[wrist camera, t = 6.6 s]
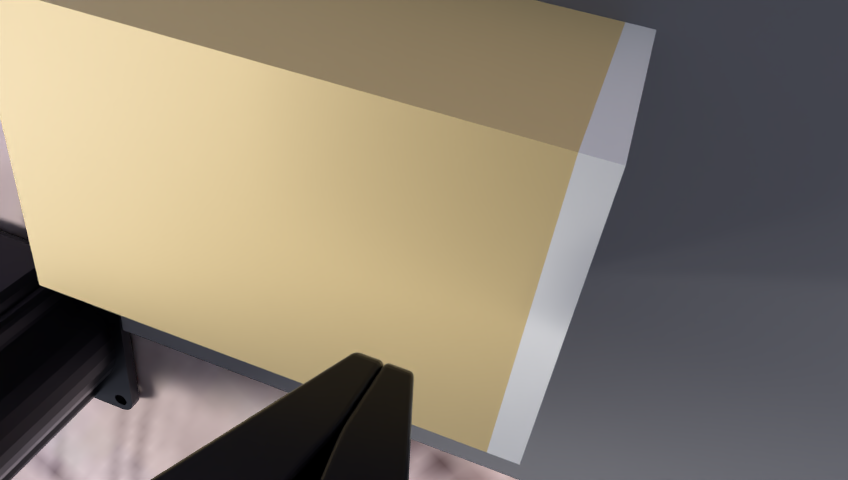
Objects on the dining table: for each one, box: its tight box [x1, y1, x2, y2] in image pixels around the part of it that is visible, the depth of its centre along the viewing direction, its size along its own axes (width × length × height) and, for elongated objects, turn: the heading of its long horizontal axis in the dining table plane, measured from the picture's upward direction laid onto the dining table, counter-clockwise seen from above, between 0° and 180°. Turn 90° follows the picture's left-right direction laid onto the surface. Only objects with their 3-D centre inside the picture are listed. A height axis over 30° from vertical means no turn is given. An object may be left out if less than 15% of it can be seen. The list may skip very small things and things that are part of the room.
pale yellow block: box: [0, 0, 656, 465], centre depth 14 cm, size 6×6×10 cm
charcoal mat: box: [121, 0, 848, 480], centre depth 16 cm, size 22×22×1 cm
